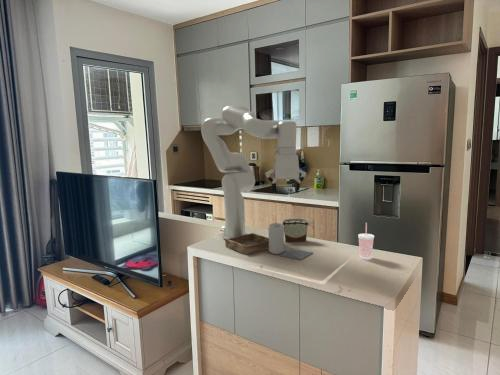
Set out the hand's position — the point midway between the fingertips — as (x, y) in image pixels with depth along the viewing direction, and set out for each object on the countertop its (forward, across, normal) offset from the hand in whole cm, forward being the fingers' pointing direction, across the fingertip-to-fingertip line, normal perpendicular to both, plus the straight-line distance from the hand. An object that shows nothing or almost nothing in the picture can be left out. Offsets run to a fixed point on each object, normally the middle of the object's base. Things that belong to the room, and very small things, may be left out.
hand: (285, 192), depth 150 cm
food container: (+26, +9, +12) cm, 30 cm away
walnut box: (+26, -14, +7) cm, 30 cm away
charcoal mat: (+25, +3, -8) cm, 26 cm away
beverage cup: (+24, +29, -17) cm, 41 cm away
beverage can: (+25, -4, -3) cm, 26 cm away
